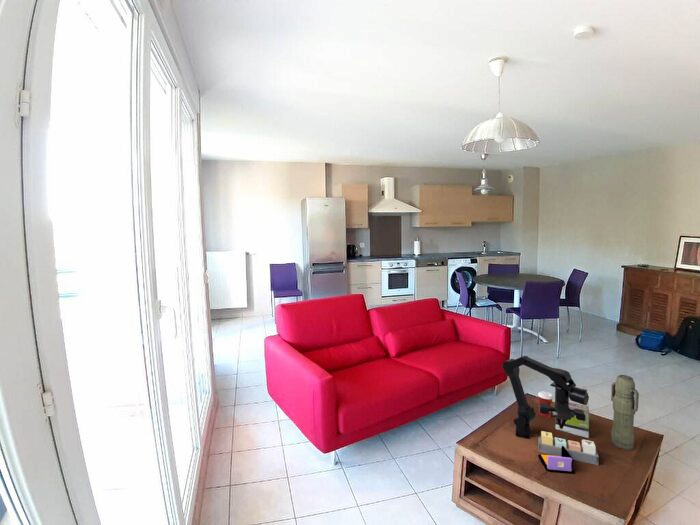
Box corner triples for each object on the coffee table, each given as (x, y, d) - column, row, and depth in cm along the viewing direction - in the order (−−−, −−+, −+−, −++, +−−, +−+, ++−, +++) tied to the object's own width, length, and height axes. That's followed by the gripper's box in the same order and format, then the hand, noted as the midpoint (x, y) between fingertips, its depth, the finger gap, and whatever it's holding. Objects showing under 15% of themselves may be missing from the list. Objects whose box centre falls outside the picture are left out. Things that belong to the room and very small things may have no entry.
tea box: (587, 429, 187) (588, 403, 186) (588, 438, 178) (589, 411, 177) (555, 421, 195) (556, 396, 194) (554, 430, 186) (555, 404, 185)
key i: (541, 444, 169) (541, 435, 168) (540, 439, 173) (541, 430, 172) (552, 446, 167) (552, 437, 166) (551, 441, 171) (551, 432, 170)
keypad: (538, 451, 168) (539, 443, 168) (538, 443, 174) (538, 436, 174) (598, 465, 158) (598, 456, 158) (595, 456, 164) (595, 448, 164)
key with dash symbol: (568, 453, 164) (569, 444, 163) (567, 448, 168) (567, 439, 168) (580, 456, 162) (580, 447, 161) (578, 451, 166) (579, 442, 166)
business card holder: (576, 475, 152) (576, 460, 152) (546, 472, 154) (547, 457, 154) (564, 457, 164) (564, 444, 163) (537, 455, 166) (537, 441, 165)
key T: (583, 453, 161) (583, 444, 161) (581, 447, 165) (582, 438, 165) (595, 456, 159) (595, 446, 159) (593, 450, 163) (593, 441, 163)
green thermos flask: (614, 436, 180) (617, 371, 177) (640, 448, 169) (644, 379, 167) (603, 440, 177) (606, 373, 174) (630, 453, 166) (633, 383, 163)
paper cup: (554, 421, 195) (555, 397, 194) (539, 420, 197) (540, 396, 196) (549, 414, 203) (550, 391, 202) (535, 413, 204) (536, 390, 203)
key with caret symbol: (554, 450, 166) (555, 441, 166) (554, 445, 170) (554, 436, 170) (566, 453, 164) (566, 444, 164) (564, 448, 168) (565, 439, 168)
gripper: (540, 400, 162) (539, 432, 163) (588, 408, 154) (587, 442, 155) (539, 391, 172) (538, 421, 173) (584, 398, 164) (583, 429, 165)
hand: (561, 428), depth 166 cm, fingers closed
